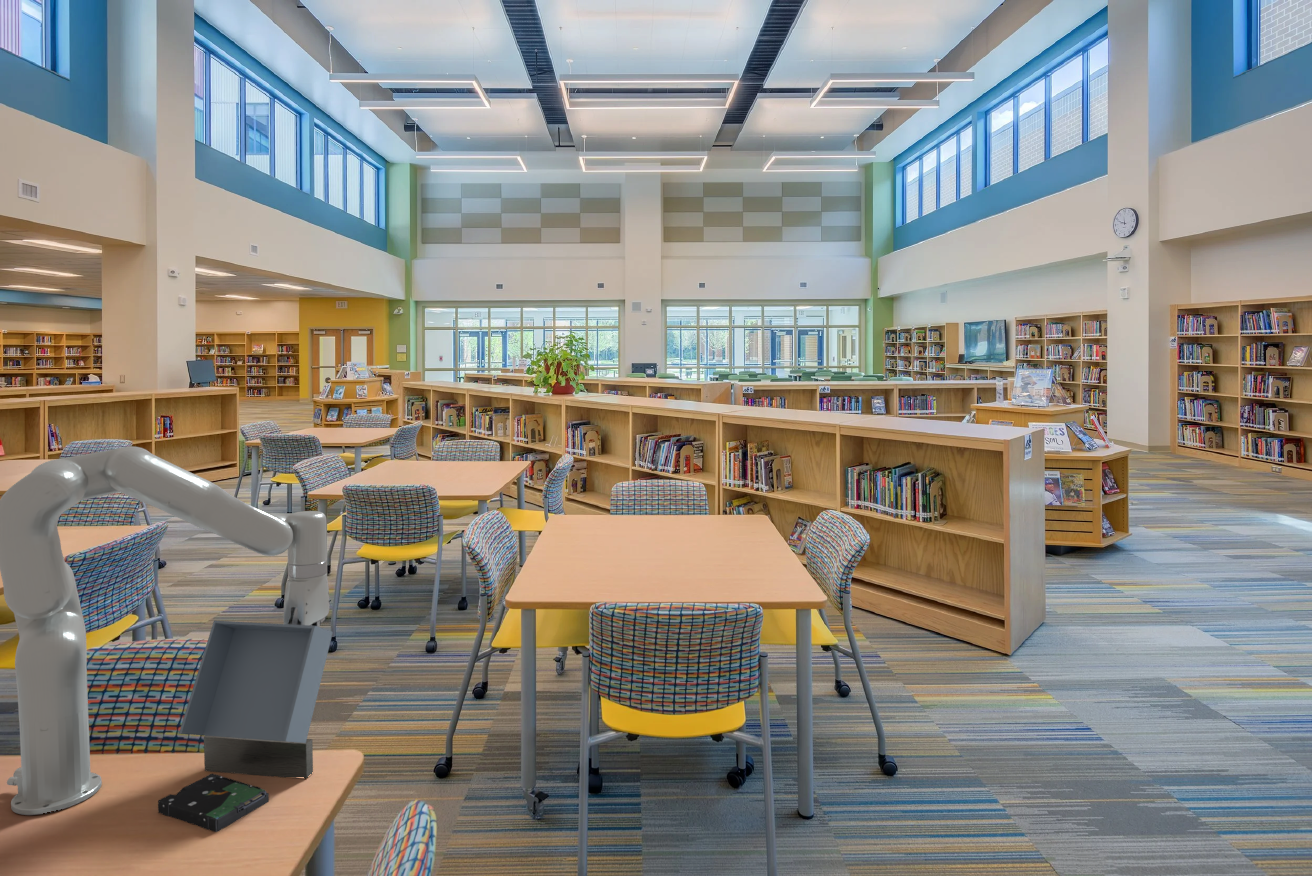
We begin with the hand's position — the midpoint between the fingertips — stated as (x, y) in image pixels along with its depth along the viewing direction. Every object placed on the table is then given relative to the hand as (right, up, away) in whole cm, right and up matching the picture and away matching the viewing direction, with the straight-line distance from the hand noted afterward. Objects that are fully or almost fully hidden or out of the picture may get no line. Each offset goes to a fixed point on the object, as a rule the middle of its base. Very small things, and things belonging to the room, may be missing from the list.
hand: (309, 654), depth 156 cm
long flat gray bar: (-2, -18, -16) cm, 24 cm away
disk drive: (-4, -19, -27) cm, 34 cm away
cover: (-2, +1, -19) cm, 19 cm away
